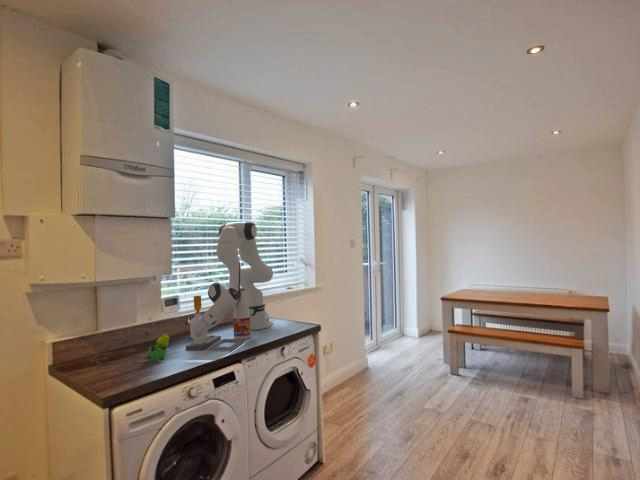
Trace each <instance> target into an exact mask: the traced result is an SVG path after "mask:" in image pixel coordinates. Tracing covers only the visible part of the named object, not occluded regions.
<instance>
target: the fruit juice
mask: <svg viewBox="0 0 640 480" xmlns="http://www.w3.org/2000/svg"><path fill="white" fill-rule="evenodd" d="M240 291H241V299H240V301H239V302H238V303H237V304H236V305H235V306H234V308H233V313H232V323H233V339H243V340H250V339H251V337H252V330H251V321H250V311H249V305H250V304H249V301H248V299H247V297H246V295H245V288H242V287H240Z"/></svg>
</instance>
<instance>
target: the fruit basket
mask: <svg viewBox="0 0 640 480" xmlns="http://www.w3.org/2000/svg"><path fill="white" fill-rule="evenodd" d="M169 340H170V337H169V334H168V333H163V334H162V335H161V336H160V337H158V339H157V340H156V342H155V343H156V344H155V345H150V347H149V350H148V354H149V357H150V360H151V363H154V362H159V361H160V362H161V361H164V360H165V356H166V352H167V348H168V345H169V342H170V341H169Z"/></svg>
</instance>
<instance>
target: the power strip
mask: <svg viewBox="0 0 640 480" xmlns="http://www.w3.org/2000/svg"><path fill="white" fill-rule="evenodd" d="M220 340H222V337H221V335H215V334H211V335H207V336H206V342H205V343H203V344H194V341H192V342H191V343H188V344H187V345H185V351H203V350H205V349H207V348H208V347H209V346H211V345H213V344H215V343H216V342H218V341H220Z"/></svg>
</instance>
